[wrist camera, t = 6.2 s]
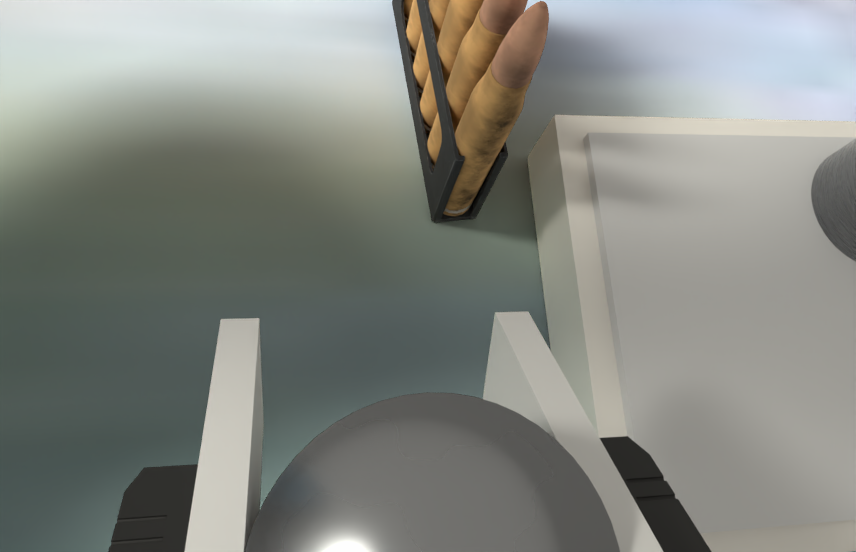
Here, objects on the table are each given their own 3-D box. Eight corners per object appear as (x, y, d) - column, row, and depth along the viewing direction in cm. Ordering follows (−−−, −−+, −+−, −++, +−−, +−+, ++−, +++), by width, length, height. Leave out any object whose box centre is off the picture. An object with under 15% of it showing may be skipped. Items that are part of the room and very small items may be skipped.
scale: (576, 564, 25) (624, 575, 21) (527, 157, 30) (559, 107, 26) (973, 527, 28) (1077, 531, 24) (871, 161, 33) (944, 117, 29)
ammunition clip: (391, -1, 31) (439, -287, 20) (432, -3, 31) (501, -284, 20) (432, 223, 28) (515, 38, 17) (476, 219, 29) (587, 34, 17)
